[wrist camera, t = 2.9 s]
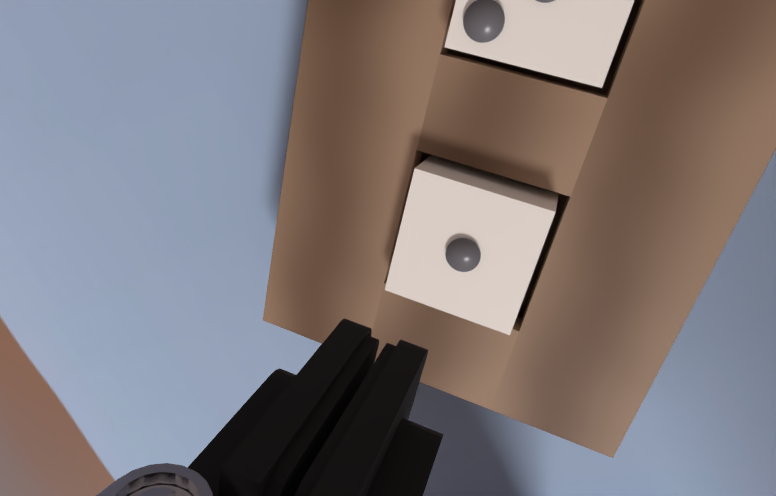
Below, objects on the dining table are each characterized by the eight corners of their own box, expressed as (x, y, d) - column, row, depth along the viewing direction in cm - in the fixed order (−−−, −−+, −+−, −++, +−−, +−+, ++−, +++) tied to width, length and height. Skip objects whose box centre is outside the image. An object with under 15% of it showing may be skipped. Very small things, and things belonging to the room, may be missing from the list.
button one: (559, 188, 19) (555, 213, 16) (518, 298, 20) (509, 337, 18) (436, 151, 20) (413, 169, 17) (407, 260, 21) (383, 291, 19)
